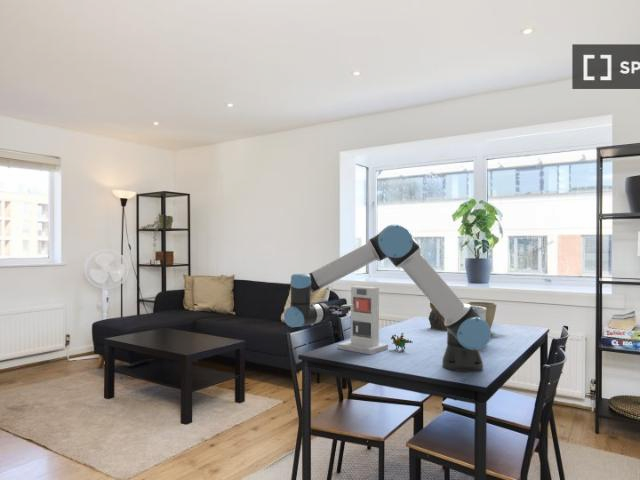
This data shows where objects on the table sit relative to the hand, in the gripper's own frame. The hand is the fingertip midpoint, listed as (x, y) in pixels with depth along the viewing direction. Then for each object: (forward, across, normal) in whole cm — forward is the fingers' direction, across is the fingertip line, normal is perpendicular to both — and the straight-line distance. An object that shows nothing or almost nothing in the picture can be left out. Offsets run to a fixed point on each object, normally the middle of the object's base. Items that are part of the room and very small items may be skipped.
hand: (351, 307), depth 195 cm
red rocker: (+12, -3, -3) cm, 13 cm away
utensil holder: (+57, +30, -20) cm, 67 cm away
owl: (+85, +4, -20) cm, 87 cm away
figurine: (+21, +13, -21) cm, 32 cm away
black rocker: (+12, -3, -14) cm, 19 cm away
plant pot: (+88, +25, -20) cm, 94 cm away
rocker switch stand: (+12, -3, -20) cm, 24 cm away
